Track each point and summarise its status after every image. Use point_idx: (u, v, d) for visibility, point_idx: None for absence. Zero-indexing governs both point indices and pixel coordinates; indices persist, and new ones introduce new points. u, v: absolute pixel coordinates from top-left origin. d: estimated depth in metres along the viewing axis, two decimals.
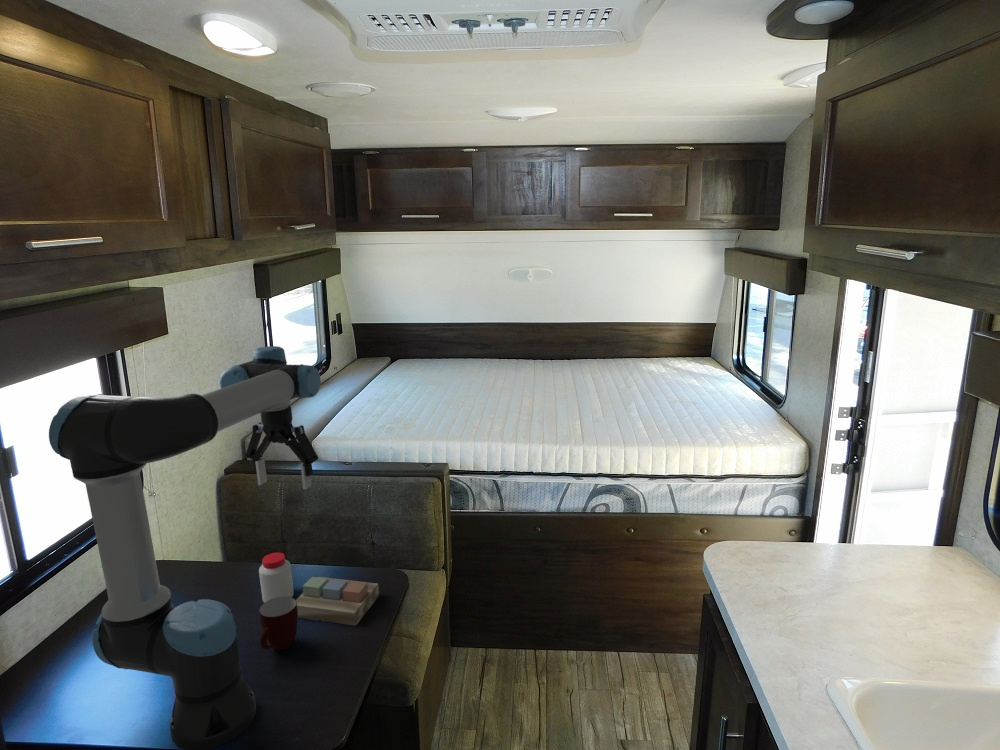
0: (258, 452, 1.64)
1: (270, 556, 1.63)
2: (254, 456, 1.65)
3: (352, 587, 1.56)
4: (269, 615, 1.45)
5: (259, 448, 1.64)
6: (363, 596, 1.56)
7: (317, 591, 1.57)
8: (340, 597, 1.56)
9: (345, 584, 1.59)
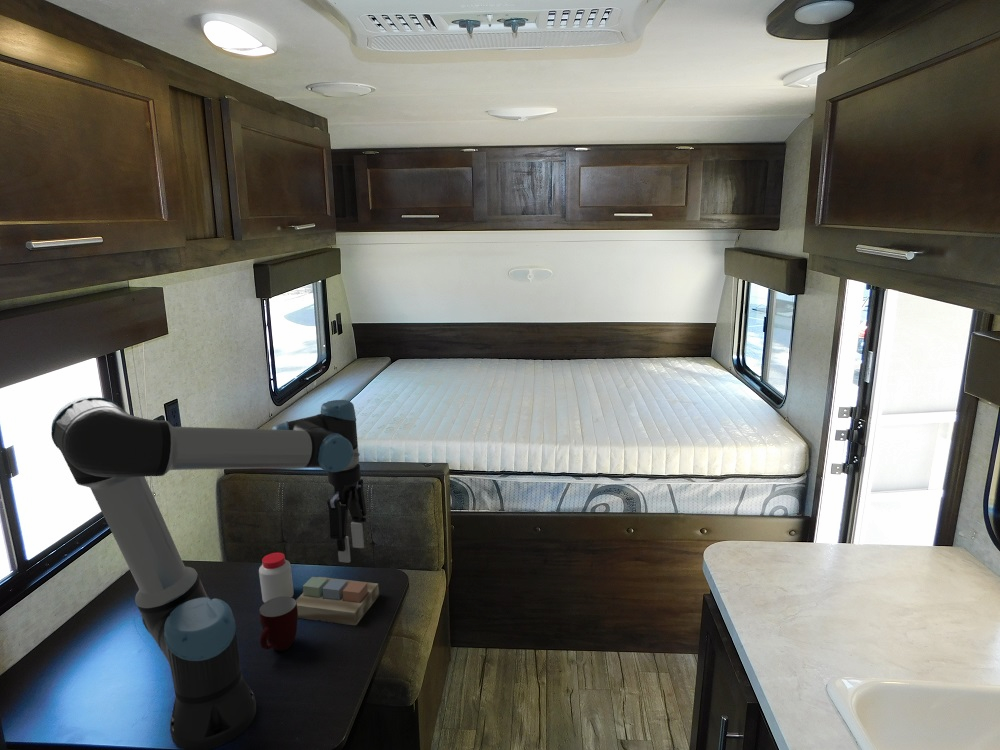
0: None
1: (270, 556, 1.63)
2: None
3: (352, 587, 1.56)
4: (269, 615, 1.45)
5: None
6: (363, 596, 1.56)
7: (317, 591, 1.57)
8: (340, 597, 1.56)
9: (345, 584, 1.59)
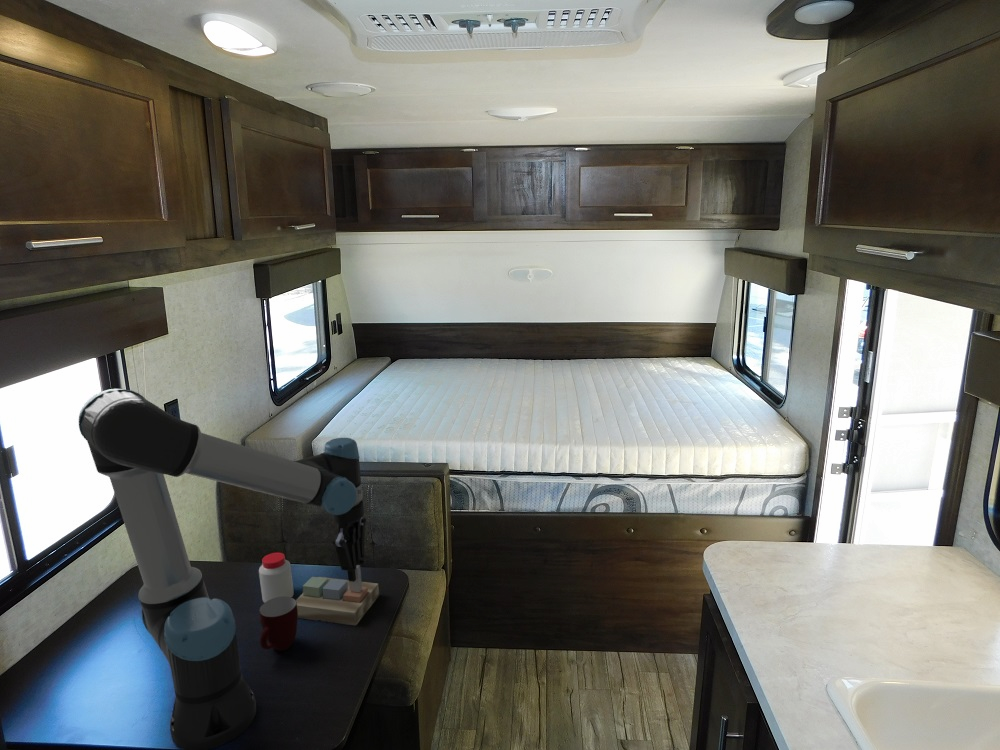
0: None
1: (270, 556, 1.63)
2: None
3: None
4: (269, 615, 1.45)
5: None
6: None
7: (317, 591, 1.57)
8: (340, 597, 1.56)
9: (345, 584, 1.59)
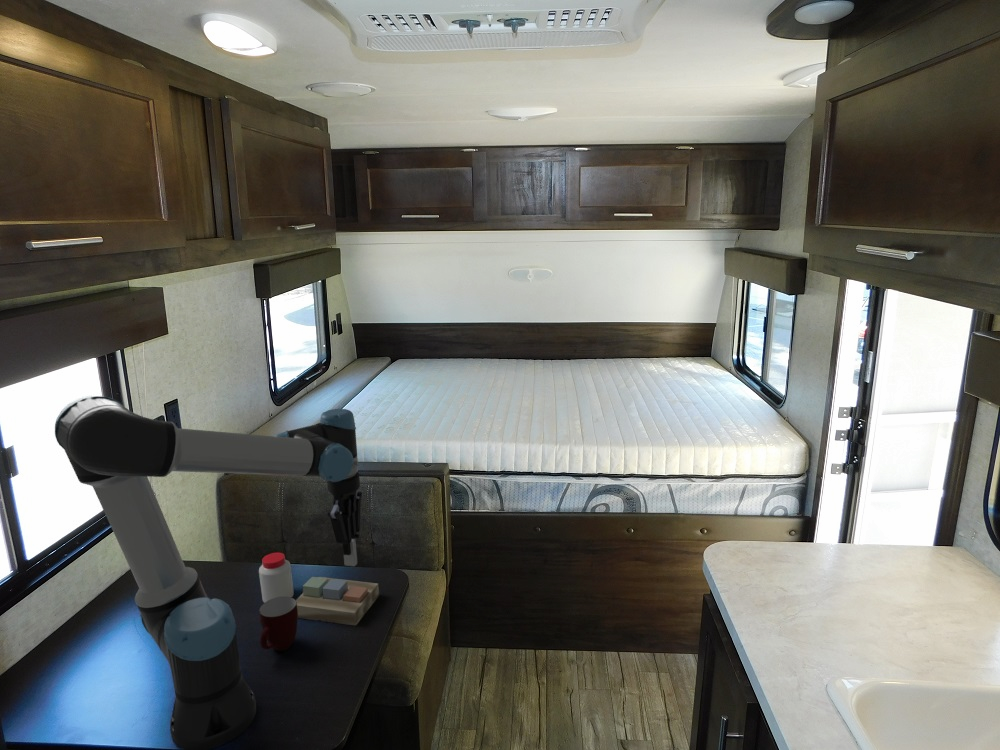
0: None
1: (270, 556, 1.63)
2: None
3: (353, 592, 1.57)
4: (269, 615, 1.45)
5: None
6: None
7: (317, 591, 1.57)
8: (340, 597, 1.56)
9: (345, 584, 1.59)
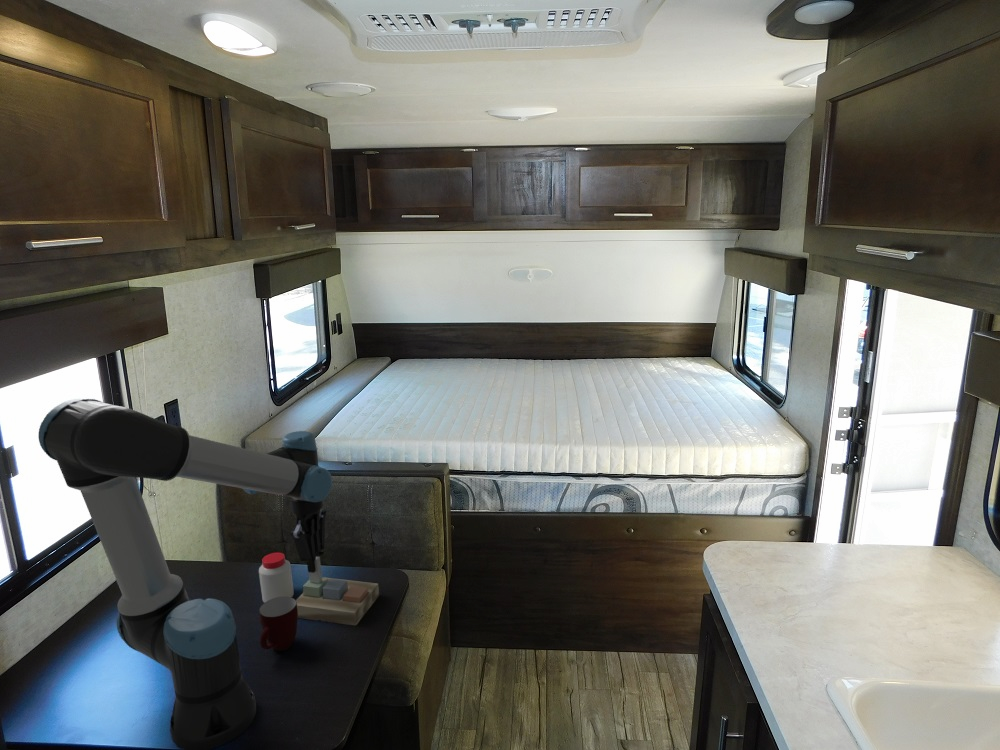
0: None
1: (270, 556, 1.63)
2: None
3: (353, 592, 1.57)
4: (269, 615, 1.45)
5: None
6: None
7: (317, 591, 1.57)
8: (340, 597, 1.56)
9: (345, 584, 1.59)
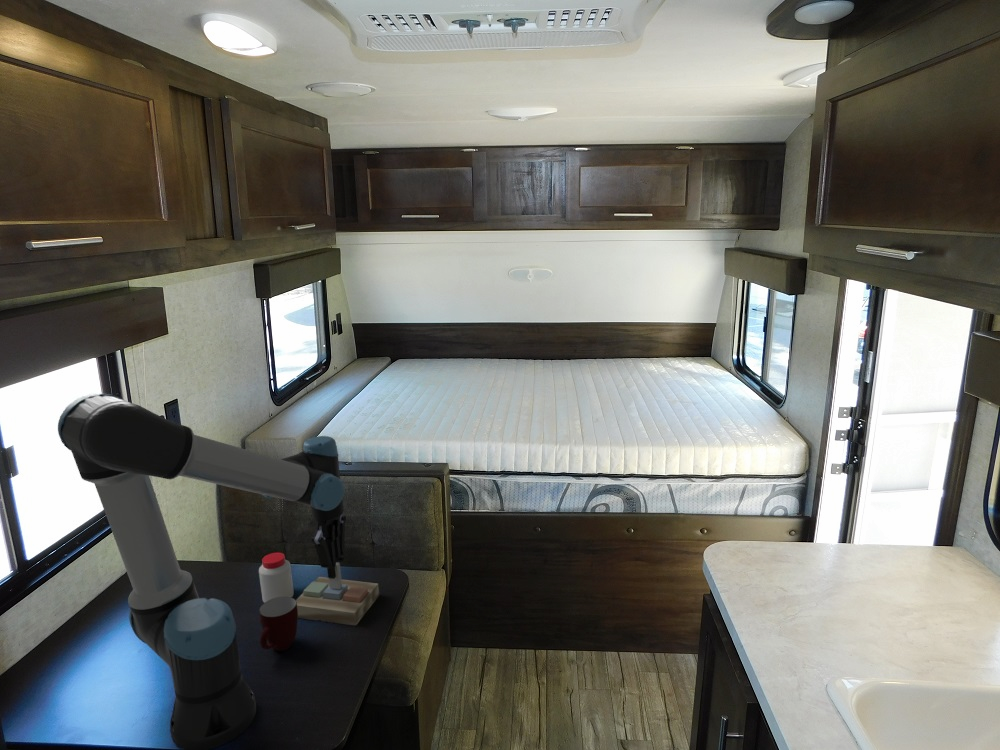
0: None
1: (270, 556, 1.63)
2: None
3: (353, 592, 1.57)
4: (269, 615, 1.45)
5: None
6: None
7: (318, 596, 1.57)
8: None
9: (345, 588, 1.59)
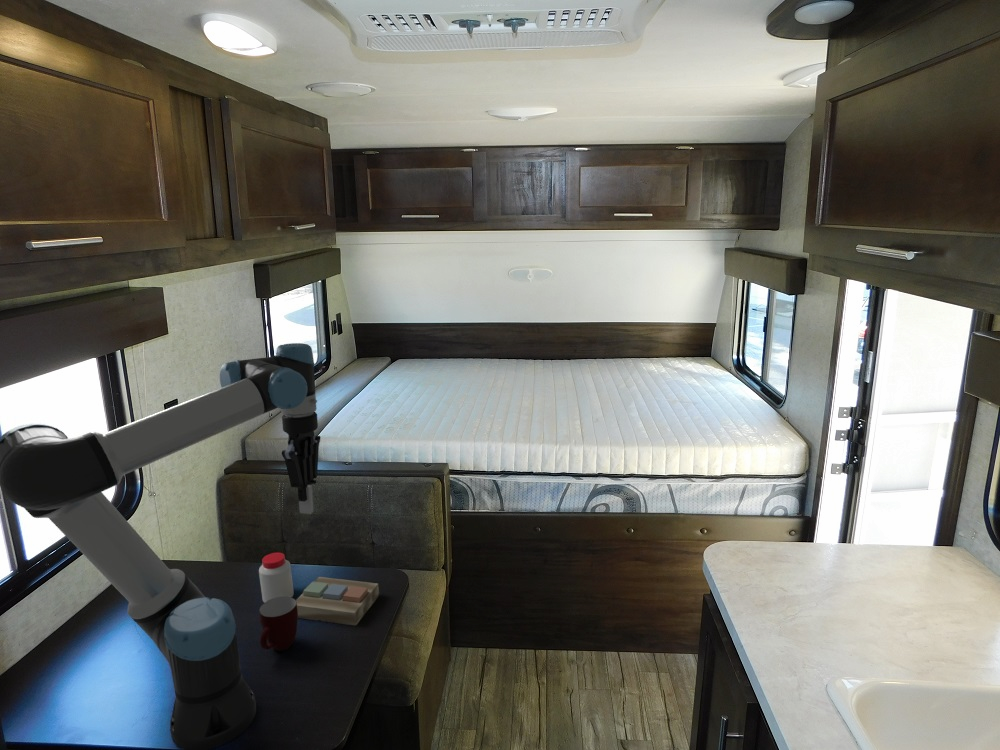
0: None
1: (270, 556, 1.63)
2: None
3: (353, 592, 1.57)
4: (269, 615, 1.45)
5: None
6: None
7: (318, 596, 1.57)
8: None
9: (345, 589, 1.59)
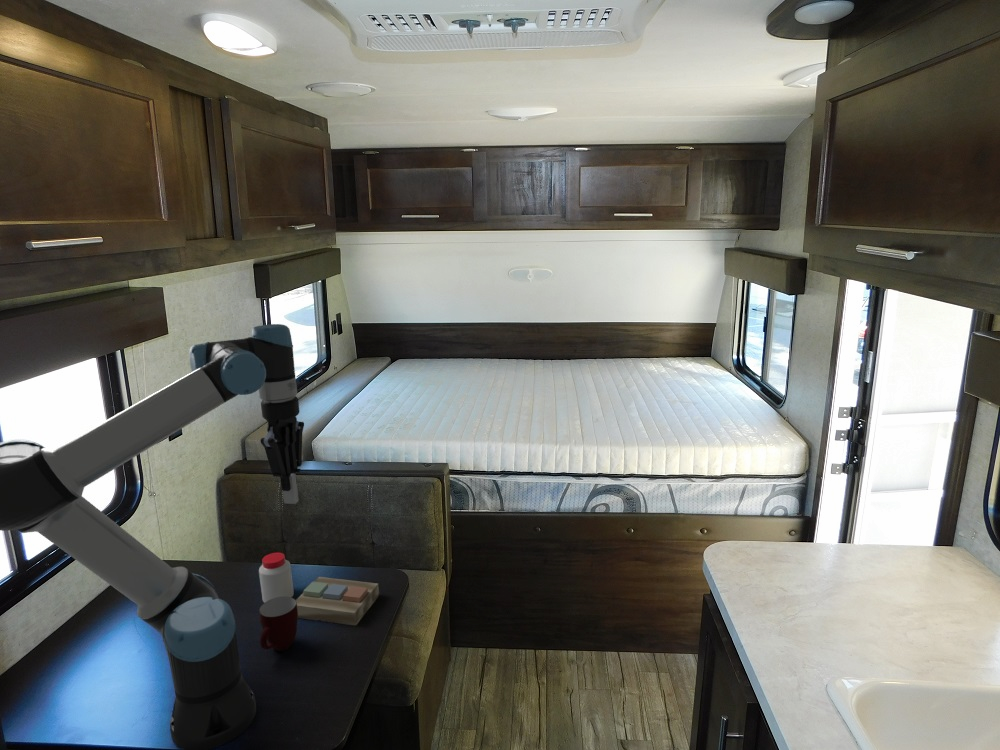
0: None
1: (270, 556, 1.63)
2: None
3: (353, 592, 1.57)
4: (269, 615, 1.45)
5: None
6: None
7: (318, 596, 1.57)
8: None
9: (345, 589, 1.59)
